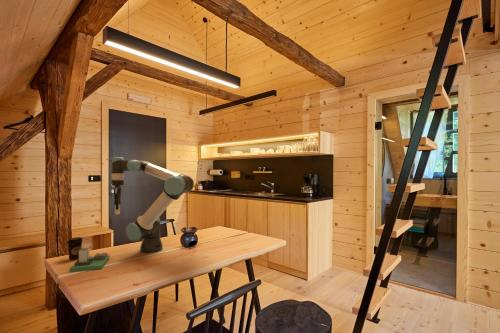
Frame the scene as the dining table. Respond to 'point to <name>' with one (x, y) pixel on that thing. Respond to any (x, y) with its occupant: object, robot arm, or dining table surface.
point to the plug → (84, 255)
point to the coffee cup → (74, 248)
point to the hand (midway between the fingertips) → (117, 214)
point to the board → (91, 263)
